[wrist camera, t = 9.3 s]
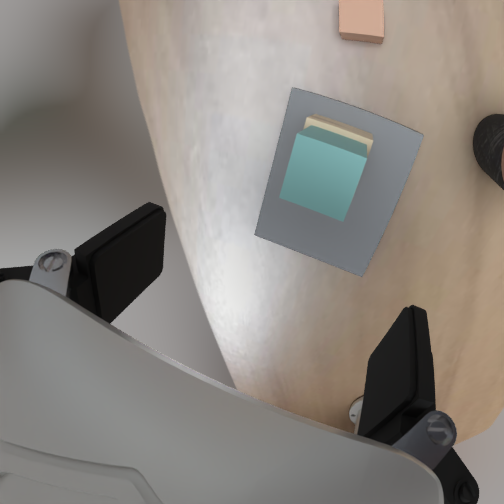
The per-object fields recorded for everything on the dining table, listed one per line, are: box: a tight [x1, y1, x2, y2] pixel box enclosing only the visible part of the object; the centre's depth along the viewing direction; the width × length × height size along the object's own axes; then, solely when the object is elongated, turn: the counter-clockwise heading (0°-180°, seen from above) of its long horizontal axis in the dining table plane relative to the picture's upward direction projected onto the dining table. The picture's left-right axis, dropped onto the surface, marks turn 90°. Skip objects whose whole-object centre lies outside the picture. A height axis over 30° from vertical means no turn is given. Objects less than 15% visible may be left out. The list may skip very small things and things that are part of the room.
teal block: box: [279, 125, 367, 222], centre depth 23 cm, size 5×5×6 cm
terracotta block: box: [339, 0, 384, 44], centre depth 21 cm, size 4×4×4 cm
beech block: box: [303, 114, 373, 199], centre depth 28 cm, size 6×6×5 cm
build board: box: [254, 88, 424, 277], centre depth 32 cm, size 18×14×1 cm
